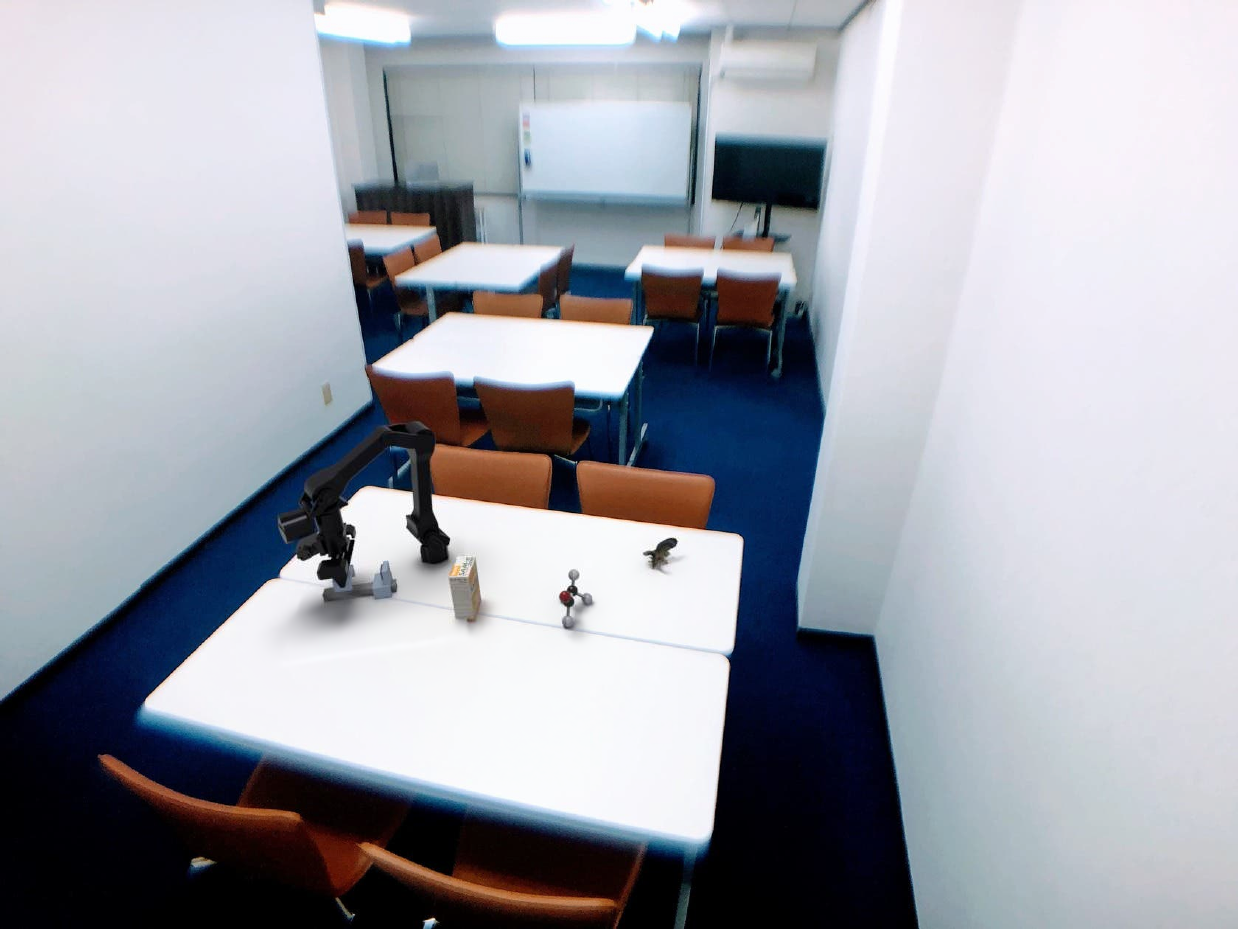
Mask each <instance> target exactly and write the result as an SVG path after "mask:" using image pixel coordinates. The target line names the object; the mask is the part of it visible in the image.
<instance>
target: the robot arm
mask: <svg viewBox="0 0 1238 929" xmlns="http://www.w3.org/2000/svg"><path fill="white" fill-rule="evenodd" d="M436 442H437V436H436V434H435V432H434V431H432V430H431V429H430V428H428V427H427V426H426V425H424V424H423V423H422V422H420V421H417V420H412V421H409V422H408V423H403V422H401V423H394V424H390V425H389V424H388V425H378V426H376V427H375V429H374V430H373V432H371V433H370V434H369V435H368V436H367V437H366V438H365V439H363V440H362V441H361V442H360V443H358V445H356V446H355V447H354V448H353V449H351V450H350V451H349V452H348V453H347V454H346V455H344V457H342V458H340V460H338V461H337V462H336V463H335V464H333V465H331V466H329V467H325V468H321V469H320V470H318V471H317V472H315V473H313V474H312V475H310V476H309V477H308V478H307V479H305V482H304V490H303V493H302V495H301V496H300V499H299V501H298V505H299V506H300V508H297V509H294V510H291V511H288V512H282V513H280V514H278V515H277V518H278V519H277V523H278V524H277V527H278V530H279V533H280V535H281V537H282V540H283V541H284V543H285V544H289V543H290V544H291V543H293V542H295V541H297V544H296V547H295V554H296V559H298V560H300V561H301V562H305V561H308V560H310V559H312V558H313V557H315V556H316V555H319V556H320V557H324V556H325V557H327V559H322V560H321V561H320V562H319V563H318V567H317V571H316V576H317V578H318V581H319V580H320V581H325V580H333V579H334V580H335V582H336V583H337V584H338V586H339V587H340V588H345V586H346V581H347V576H348V571H349V566H350V565H351V562H352V558H353V557H352V556H353V552H354V547H355V542H356V540H355V539H356V537H357V536H356V535H357V530H356V526H355V525H352V524H351V523H348V524H347V522H344V520H343V516H342V511H341V509H342V508H344V507H348V506H349V502H348V501H347V499H345V498H344V497H343V496H341V495H343V494H344V492H345V490H346V488H347V486H348V484H349V482H350V481H351V480H352V479H353V478H354V477H356V475H358V473H360V472H361V471H362V470H364V468H366V467H367V466H368V465H369V464H370V463H372V462H373V461H374V460H375V459H376V458H377V457H379V455H381V454H382V453H383V452H385V451H386V449H388V448H389V447H391V448H392V447H393V448H394V447H397V448H403V449H406V452H407V454H408V456H409V458H410V475H411V486H412V487H411V488H412V505H413V509H412V511H411V513H410V514H406V515H405V519H406V526H405V528H406V529H407V530H408V532H409V534H411V535H412V536H413V537H414V539H416V540H417V542H419V544H420V546H419V547H420V549H419V553H420V558H421V563H424V564H430V565H439V564H442V563H444V562H445V561H448V560H449V559H450V553H449V552H450V551H449V546H450V543H451V538H450V536H449V535H448V534H447V533H446V532H445V531H443V530H442V529H441V528H440V526H439V525H440V524H439V522H438V519H437V518H436V515H435V513H434V510H433V492H432V490H433V489H432V476H431V475H432V474H431V459H432V456H433V455H434V453H435V450H436ZM316 528H317V532H316V533H315V530H316ZM350 537H351V538H350ZM298 540H299V541H298ZM326 555H327V556H326ZM331 557H332V558H331Z"/></svg>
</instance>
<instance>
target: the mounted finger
mask: <svg viewBox="0 0 1238 929" xmlns="http://www.w3.org/2000/svg"><path fill="white" fill-rule="evenodd" d="M389 562H390V561H389V560H383V561H382V563H380V568H379V569H380V570H379V572H378V573H377V572H376V573H374V576H373V581H372V582H373V587H372V590H373V594H374V595H373V598H374V599H375V600H377V599H383V598H392V596H393V594H392V593H393V592H392V593H391V580H392V579H394V578H393V572H392V571H391V567H390V563H389Z"/></svg>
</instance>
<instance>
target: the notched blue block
mask: <svg viewBox="0 0 1238 929" xmlns="http://www.w3.org/2000/svg"><path fill="white" fill-rule="evenodd" d="M331 558H332V557H331ZM331 558H330V559H331ZM355 577H356V571H355V567H354V564H350V566H349V571H348V576H347V581H346V586H345V588H340V587H339V586H338V584H337V583H336V582H335V580H334V579H331V583H332V587H334V590H335V592H341V591H348V590H353V586H352V585H353V583H352V580H353V579H352V578H355Z"/></svg>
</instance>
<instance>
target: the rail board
mask: <svg viewBox="0 0 1238 929" xmlns="http://www.w3.org/2000/svg"><path fill="white" fill-rule="evenodd" d="M397 583H398V582H397V579H396V578H393V579H392V580H391V593H396V592H397V590H398V584H397ZM352 586H353V590H348V591H341V592H335V590H334V587H333V586H332V587H327V588H326V587H325V588H324V589H323V590H322V591H323V592H322V598H323V602H324V603H327V602H332V601H333V602H334V601H341V600H347V599H354V598H362V597H369V596H374V594H373V590H372V587H373V581H371V582H364V583H354V584H352Z"/></svg>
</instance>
